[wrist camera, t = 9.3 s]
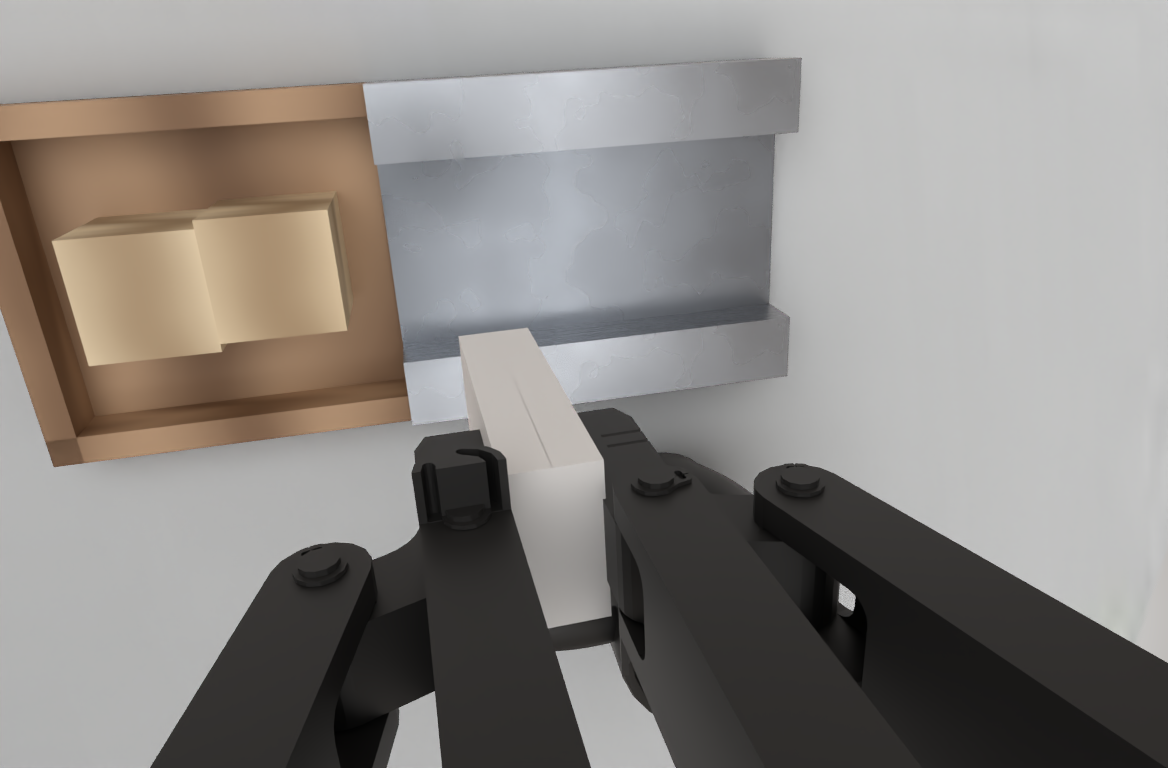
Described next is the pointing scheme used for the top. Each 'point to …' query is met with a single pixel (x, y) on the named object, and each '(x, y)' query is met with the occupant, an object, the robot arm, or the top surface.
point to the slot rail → (586, 222)
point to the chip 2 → (275, 266)
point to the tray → (179, 183)
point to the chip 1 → (138, 287)
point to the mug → (609, 626)
